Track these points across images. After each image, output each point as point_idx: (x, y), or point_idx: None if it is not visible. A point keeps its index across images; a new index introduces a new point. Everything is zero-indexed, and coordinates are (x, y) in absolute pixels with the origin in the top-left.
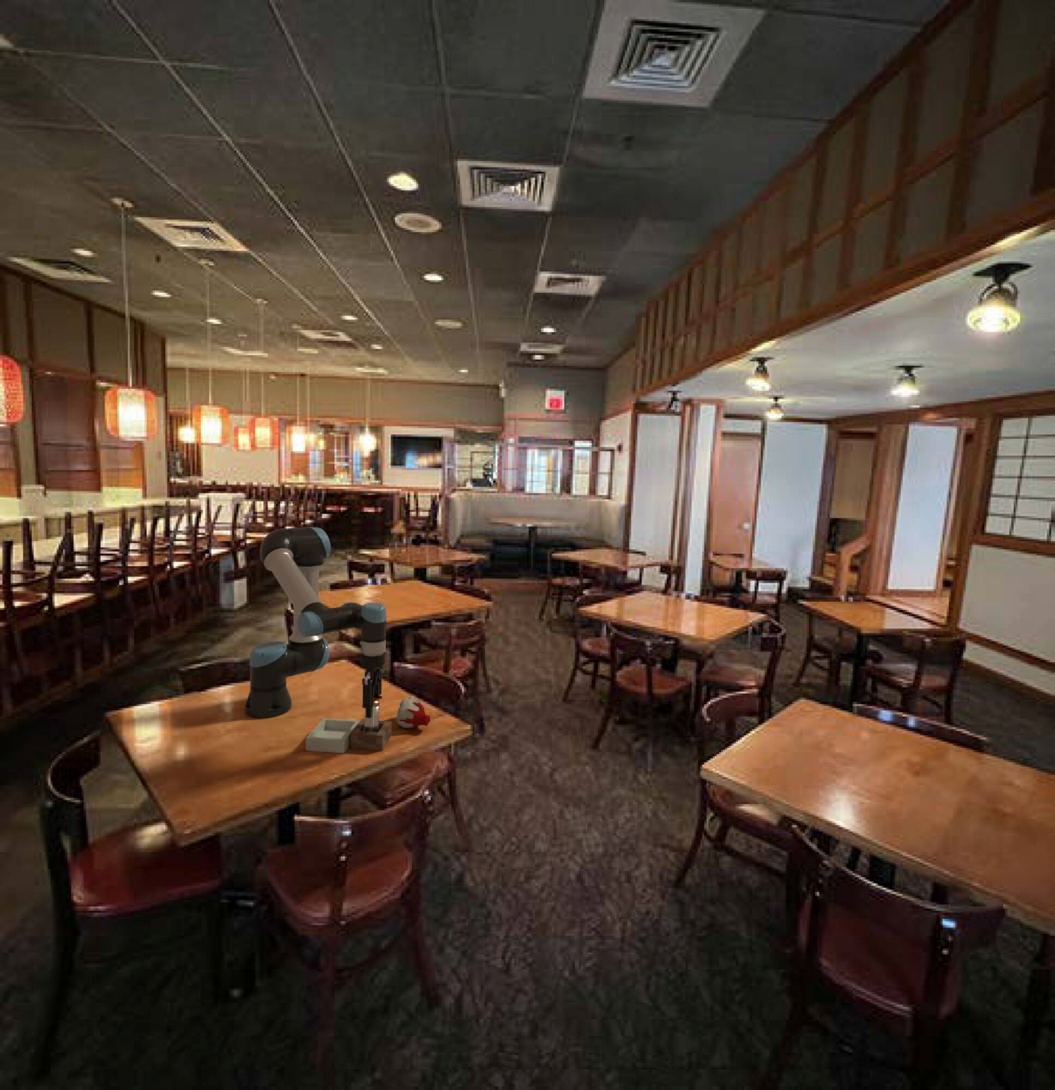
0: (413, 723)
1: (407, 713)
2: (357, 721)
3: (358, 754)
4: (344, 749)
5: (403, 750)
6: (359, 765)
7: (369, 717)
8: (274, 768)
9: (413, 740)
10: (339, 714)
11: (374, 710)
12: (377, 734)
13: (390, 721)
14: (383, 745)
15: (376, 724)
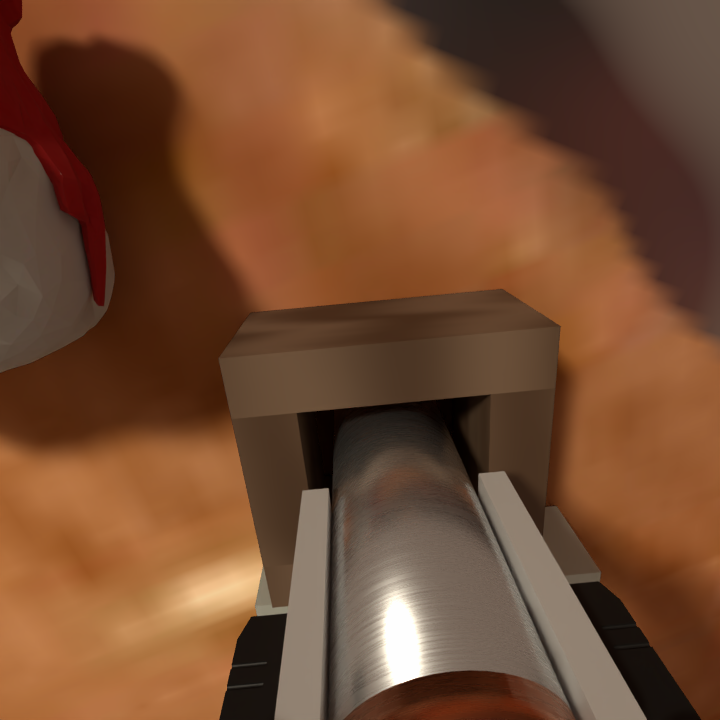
0: (57, 131)
1: (3, 217)
2: (276, 612)
3: (566, 423)
4: (559, 520)
5: (475, 107)
6: (711, 360)
7: (603, 596)
8: (711, 699)
9: (272, 73)
10: (99, 705)
11: (536, 638)
12: (538, 382)
13: (225, 368)
14: (478, 298)
15: (442, 461)
